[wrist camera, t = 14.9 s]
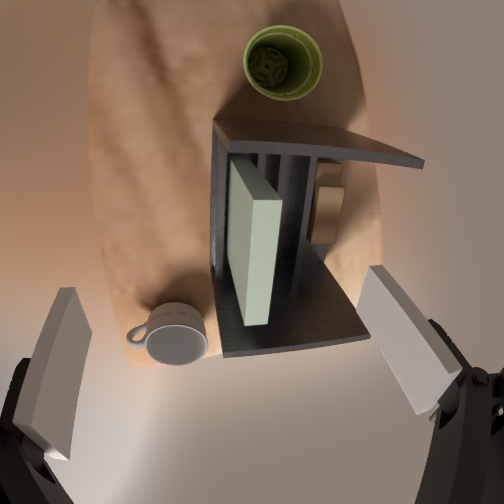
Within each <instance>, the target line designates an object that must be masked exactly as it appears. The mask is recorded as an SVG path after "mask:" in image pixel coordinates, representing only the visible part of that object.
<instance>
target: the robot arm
mask: <svg viewBox="0 0 504 504" xmlns="http://www.w3.org/2000/svg"><path fill="white" fill-rule="evenodd" d="M356 312H357V314H358V315H359V317H360V318H361V320H362V322H363V323H364V325H365V327H366V328H367V330H368V331H369V333H370V335H371V336H372V338H373V340H374V341H375V343H376V345H377V346H378V348H379V350H380V351H381V353H382V355H383V356H384V358H385V360H386V362H387V363H388V365H389V367H390V368H391V370H392V372H393V374H394V375H395V377H396V379H397V381H398V382H399V384H400V386H401V388H402V389H403V391H404V393H405V395H406V397H407V398H408V400H409V402H410V404H411V405H412V407H413V409H414V411H415V413H416V414H417V415H419V414H421V413H423V412H426V411H428V410H430V409H431V408H432V407H433V406H434V404H435V403H436V402H437V401H438V403H439V405H440V407H439V408H438V409H437V410H436V411H435V412H434V413H433V414H432V416H431V417H430V419H429V421H432V420H433V418H434V417H435V416H436V420H435V421H434V422H435V426H434V431H433V436H432V441H431V446H430V450H429V454H428V458H427V462H426V466H425V470H424V474H423V477H422V481H421V485H420V488H419V491H418V494H417V497H416V501H415V504H504V413H503V414H502V415H499V410H500V409H501V408H502V407H503V412H504V368H503V369H502V370H501V371H500V373H494V374H488V373H487V372H486V371H485V370H483V369H481V368H478V367H473V368H472V367H471V366H470V364H469V363H468V362H467V360H466V359H465V358H464V356H463V355H462V354H461V352H460V351H459V349H458V348H457V347H456V345H455V344H454V343H452V340H451V339H450V337H449V336H447V333H446V332H445V331H444V330H443V328H442V327H441V326H440V325H439V324H437V323H436V322H435V321H433V320H432V319H430V320H427V319H426V318H425V316H424V315H423V314H422V313H421V312H420V310H419V309H418V308H417V306H416V305H415V304H414V303H413V301H412V300H411V299H410V298H409V296H408V295H407V294H406V293H405V292H404V290H403V289H402V288H401V287H400V286H399V284H398V283H397V282H396V281H395V280H394V278H393V277H392V276H391V275H390V274H389V272H388V271H387V270H386V269H385V268H384V267H383V265H376V266H369V267H368V271H367V274H366V278H365V281H364V285H363V288H362V291H361V295H360V298H359V301H358V304H357V307H356ZM91 336H92V331H91V328H90V326H89V324H88V321H87V319H86V316H85V314H84V311H83V308H82V306H81V303H80V300H79V297H78V294H77V292H76V289H75V287H67V288H60V289H59V291H58V293H57V296H56V298H55V300H54V302H53V305H52V307H51V309H50V312H49V314H48V316H47V319H46V321H45V323H44V326H43V329H42V331H41V334H40V337H39V339H38V341H37V344H36V347H35V349H34V352H33V355H32V358H23V359H22V360H21V362H20V363H19V364H18V365H17V367H16V368H15V371H14V374H13V377H12V381H11V383H10V386H9V390H8V392H7V396H6V399H5V402H4V406H3V409H2V413H1V417H0V504H74V503H73V501H72V500H71V499H70V497H69V496H68V494H67V493H66V492H65V490H64V489H63V487H62V486H61V484H60V483H59V481H58V479H57V478H56V476H55V475H54V473H53V472H52V470H51V468H50V467H49V465H48V463H47V462H46V461H45V460H44V452H46V453H47V454H48V455H49V456H51V457H52V458H56V459H62V460H68V461H69V459H70V458H69V457H70V449H71V440H72V433H73V426H74V419H75V413H76V407H77V400H78V395H79V390H80V385H81V379H82V375H83V370H84V365H85V361H86V356H87V352H88V348H89V343H90V340H91Z"/></svg>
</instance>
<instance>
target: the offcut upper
mask: <svg viewBox="0 0 504 504" xmlns="http://www.w3.org/2000/svg"><path fill="white" fill-rule="evenodd" d="M344 192H345V188H344V187H343V186H342V185H340V184H336V183H317V182H315V184H314V191H313V198H312V205H311V212H310V218H309V225H308V231H307V237H306V238H307V240H308V241H309V242H310V244H335V239H336V234H337V229H338V224H339V219H340V214H341V208H342V203H343V197H344Z"/></svg>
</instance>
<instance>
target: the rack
mask: <svg viewBox="0 0 504 504" xmlns="http://www.w3.org/2000/svg"><path fill="white" fill-rule="evenodd" d="M229 156H247V157H248V158H249V160H250V161H251V162H252V163H253V164H254V166H255V167H256V168H257V169H258V170H259V172H260V173H261V174H262V175H263V177H264V178H265V179H266V180H267V182H268V183H269V184H270V185H271V186H272V188H273V189H274V190H275V191H276V193H277V194H278V195H279V196H280V198H281V199H282V209H281V218H280V226H279V235H278V244H277V252H276V260H275V268H274V276H273V284H272V292H271V300H270V308H269V315H268V323H267V324H262V325H250V326H244V322H243V318H242V314H241V310H240V306H239V301H238V297H237V293H236V289H235V285H234V281H233V277H232V272H231V268H230V264H229V260H228V256H227V251H226V247H225V235H226V205H227V180H228V158H229ZM343 159H349V160H358V161H367V162H375V163H383V164H390V165H397V166H404V167H411V168H417V169H423V166H424V161H425V160H423V159H421V158H418V157H416V156H414V155H411V154H409V153H407V152H404V151H402V150H399V149H397V148H394V147H392V146H389V145H387V144H383V143H381V142H379V141H376V140H373V139H371V138H368V137H365V136H362V135H359V134H356V133H353V132H351V131H348V130H345V129H341V128H333V127H325V126H317V125H307V124H297V123H286V122H273V121H256V120H231V119H213V129H212V156H211V196H210V272H211V279H212V286H213V294H214V301H215V307H216V314H217V321H218V327H219V334H220V340H221V346H222V353H223V358H230V357H242V356H253V355H263V354H272V353H281V352H288V351H296V350H304V349H311V348H318V347H325V346H331V345H337V344H343V343H349V342H355V341H360V340H366V339H370V337H371V335H370V333H369V331H368V330H367V328H366V327H365V325H364V323H363V322H362V320H361V318H360V317H359V315H358V314H357V312H356V309H355V307H354V306H353V304H352V303H351V301H350V300H349V298H348V297H347V295H346V294H345V293H344V291H343V290H342V288H341V287H340V285H339V284H338V282H337V281H336V280H335V278H334V277H333V275H332V274H331V272H330V271H329V270H328V268H327V267H326V265H325V264H324V260H325V256H326V251H327V246H328V244H310V242H309V241H308V240H307V238H306V234H307V228H308V222H309V215H310V209H311V202H312V195H313V188H314V181H315V173H316V166H317V160H329V161H337V162H339V163H341V164H342V160H343Z"/></svg>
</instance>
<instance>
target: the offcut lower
mask: <svg viewBox="0 0 504 504" xmlns="http://www.w3.org/2000/svg"><path fill="white" fill-rule="evenodd" d="M341 169H342V164H341V163H339V162H337V161H329V160H317V166H316V173H315V181H314V184H315V182H317V183H336V184H339V182H340V176H341ZM313 191H314V188H313ZM312 198H313V195H312ZM311 205H312V202H311ZM310 212H311V209H310ZM309 218H310V215H309ZM308 225H309V222H308ZM307 231H308V228H307ZM306 237H307V234H306Z"/></svg>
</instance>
